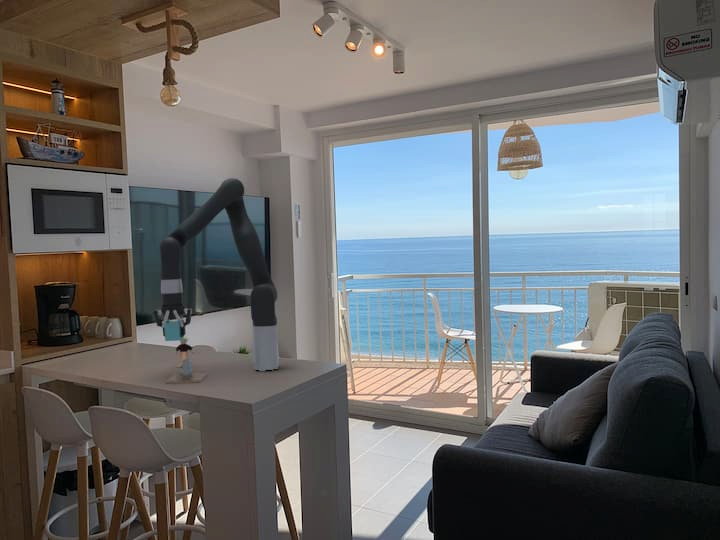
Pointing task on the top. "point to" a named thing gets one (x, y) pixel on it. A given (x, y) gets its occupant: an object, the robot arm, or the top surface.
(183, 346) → the grandmother figurine
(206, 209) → the robot arm
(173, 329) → the turquoise rectangular block
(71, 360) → the top surface
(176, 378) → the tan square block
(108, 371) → the top surface
